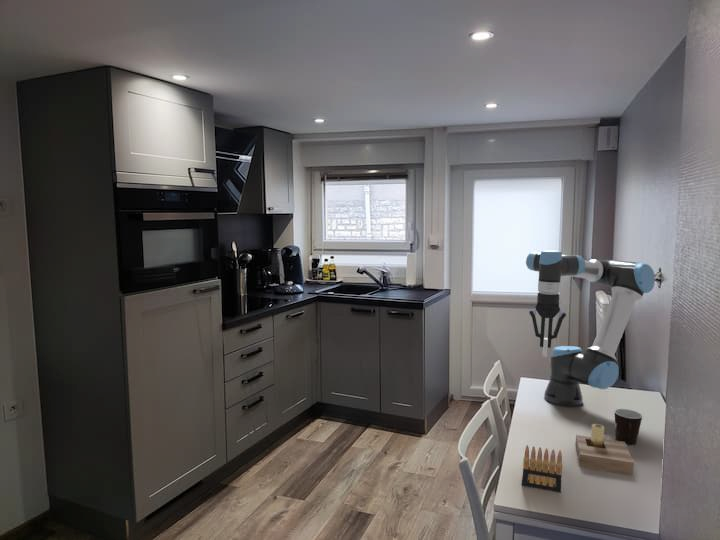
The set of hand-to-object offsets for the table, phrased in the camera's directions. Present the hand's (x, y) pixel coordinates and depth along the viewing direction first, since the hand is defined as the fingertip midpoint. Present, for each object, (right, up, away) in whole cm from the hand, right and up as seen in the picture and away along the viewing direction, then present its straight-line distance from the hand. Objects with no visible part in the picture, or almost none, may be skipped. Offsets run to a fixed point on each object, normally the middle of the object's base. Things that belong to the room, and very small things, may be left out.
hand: (544, 355), depth 189 cm
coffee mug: (+24, -28, -11) cm, 39 cm away
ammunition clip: (-16, -31, -42) cm, 55 cm away
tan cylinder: (+9, -29, -21) cm, 37 cm away
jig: (+10, -29, -24) cm, 39 cm away
